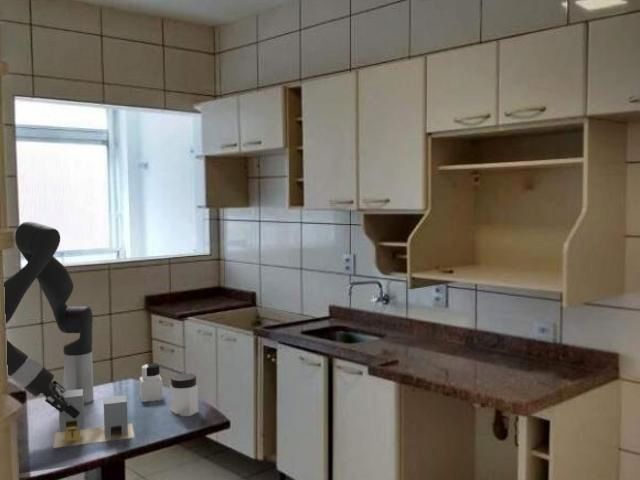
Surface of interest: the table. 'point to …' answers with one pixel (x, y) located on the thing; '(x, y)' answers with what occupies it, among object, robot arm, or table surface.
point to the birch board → (92, 436)
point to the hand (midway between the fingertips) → (77, 411)
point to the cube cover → (77, 402)
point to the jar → (184, 394)
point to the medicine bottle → (151, 383)
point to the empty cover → (115, 414)
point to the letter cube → (72, 431)
